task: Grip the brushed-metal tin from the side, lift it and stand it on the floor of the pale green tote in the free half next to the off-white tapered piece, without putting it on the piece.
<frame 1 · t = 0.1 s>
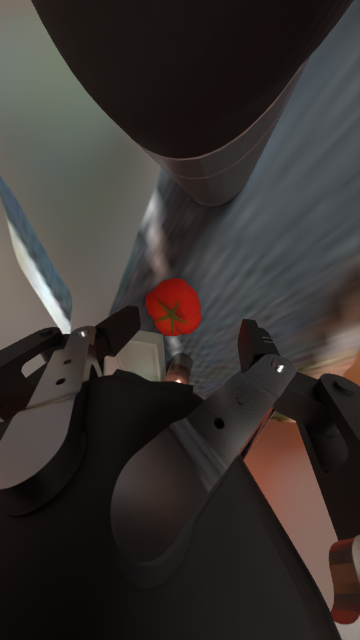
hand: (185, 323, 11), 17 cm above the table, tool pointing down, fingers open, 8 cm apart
tote: (134, 351, 42), on the table
tomato: (179, 301, 30), on the table
off-white tapered piece: (120, 351, 42), point 1 cm above the table, touching tote
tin: (182, 360, 39), on the table
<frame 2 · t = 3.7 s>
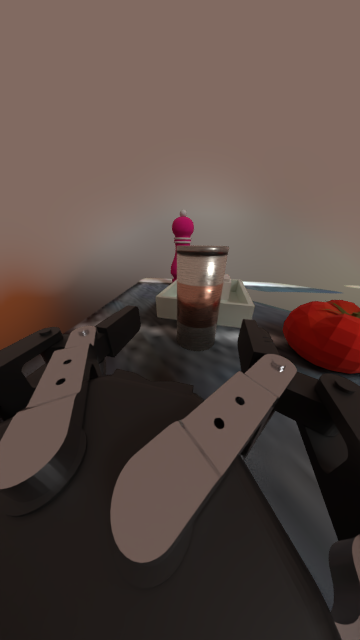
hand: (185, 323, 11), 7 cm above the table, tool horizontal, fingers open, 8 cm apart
pepper mill: (181, 285, 48), on the table
tote: (204, 304, 33), on the table
tomato: (327, 356, 19), on the table
off-white tapered piece: (206, 294, 36), point 1 cm above the table, touching tote
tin: (195, 339, 21), on the table
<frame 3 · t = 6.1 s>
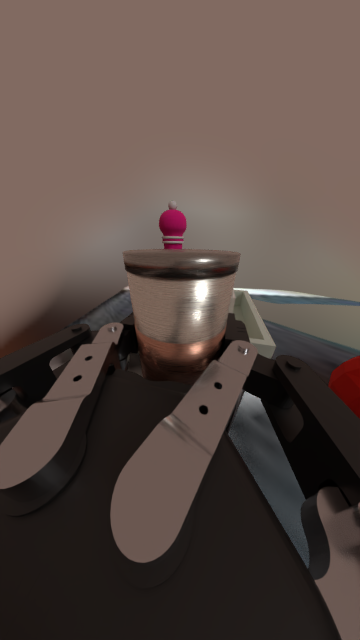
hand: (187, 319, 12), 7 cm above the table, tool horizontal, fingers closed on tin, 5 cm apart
pepper mill: (173, 294, 40), on the table
tote: (199, 325, 25), on the table
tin: (179, 402, 13), on the table, touching gripper
when the fingers open (9 cm above the table, at t = 10.9 s): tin stays where it is, resting on tote.
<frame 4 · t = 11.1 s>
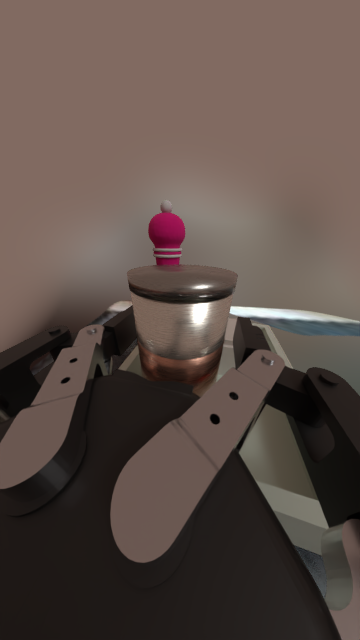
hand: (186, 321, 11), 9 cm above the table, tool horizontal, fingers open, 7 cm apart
pepper mill: (169, 318, 32), on the table
tote: (204, 384, 17), on the table
off-white tapered piece: (207, 354, 20), point 1 cm above the table, touching tote
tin: (178, 409, 13), point 1 cm above the table, touching tote
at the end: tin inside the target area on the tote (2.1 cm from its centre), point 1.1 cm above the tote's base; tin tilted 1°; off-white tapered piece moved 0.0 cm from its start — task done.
